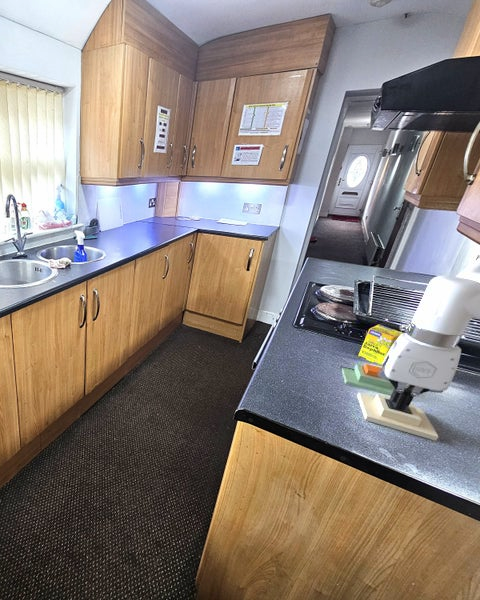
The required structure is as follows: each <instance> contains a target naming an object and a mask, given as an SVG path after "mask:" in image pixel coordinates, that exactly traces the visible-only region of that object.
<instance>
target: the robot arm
mask: <svg viewBox="0 0 480 600" xmlns="http://www.w3.org/2000/svg"><path fill="white" fill-rule="evenodd" d="M473 319H477V320H480V257H478V258H477V259H476V260H474V261H473V262H472V263H471V264H469V265H468V266H466V267H465V268H464V269H462V271H461V272H459V273H458V274H457V275H456V276H454V275H438V276H437V275H436V276H435V277H433V278H432V279H431V280H430V281H429V283H428V284H427V286H426V289H425V291H424V293H423V296H422V298H421V300H420V302H419V304H418V307H417V308H416V310H415V313H414V315H413V317H412V319H411V320H410V321H409V323H407V324H404V323H401V324H400V325H399V330H400V331H403V333H402V334H401V335H400V336H399V337H398V339H397V340H396V341H395V342H394V344H393V345H392V347H391V348H390V350H389V352H388V353H387V355H386V357H385V359H384V361H383V363H382V366H381V368H382V369H381V370H380V371H379V372H378V376H379V377H380V378H381V379H384V380H386V381H389V382H391V384H392V385H393V386H394V390H393V392H392V395H391V396H389V397H390V400H391V401H392V403H393V405H394V407H395V408H400V409H402V410H405V408H406V406H409V405H410V403H412V401H413V399H414V397H418V396H419V395H421V394H425V393H428V392H430V393H437V394H438V393H439V394H442V393H443V392H444V391H446V390H448V389H449V387H450V386H451V384H452V381H453V379H454V377H455V374H456V372H457V369H458V365H459V362H460V359H461V355H462V354H461V353H462V348H461V347H459V346H458V344H459V343H460V340H461V339H462V337H463V335H464V333H465V332H466V329H467V328H468V326H469V324H470V322H471V320H473ZM406 385H407V386H406Z"/></svg>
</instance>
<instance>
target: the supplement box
mask: <svg viewBox="0 0 480 600" xmlns="http://www.w3.org/2000/svg"><path fill="white" fill-rule="evenodd" d="M402 333H404V331H403V332H402V331H398V330H396V329H394V328H390V327H387V326H385V325H382V324H381V323H380V324H377V325H375V326H372V327H370V328H369V329H368V331H367V334H366V335H365V339H364V340H363V342H362V346H361V348H360V350H359V353H358V355H357V356H358V357H359V358H362V359H364V360H366V361H369V362H371V363H373V364H375V365H378V366H380V367H382V363H383V361H384V359H385V357H386V355H387V353H388V352H389V350H390V348H391V347H392V345H393V344H394V342H395V341H396V340H397V339H398V337H399V336H400V335H401V334H402Z"/></svg>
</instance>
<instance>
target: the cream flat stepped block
mask: <svg viewBox="0 0 480 600" xmlns="http://www.w3.org/2000/svg"><path fill="white" fill-rule="evenodd" d="M390 397H391V396H388V395H384V394H381V393H376V395H371V394H367V393H365V392H361V391H359V392H357V400H358V403H359V405H360V408H361V409H360V410H361V411H362V415H363V417H364V418H363V419H364V421H367V422H371V423H373V424H378V425H381V426H383V427H387V428H391V429H394V430H398V431H401V432H405V433H408V434H412V435H415V436H417V437H421V438H425V439H428V440H431V441H434V442H437V441H438V439H439V435H438V433H437V432H436V430H435V428H434V426H433V424H432V423H431V421H430V420H429V418H428V417H427V414H426V413H425V411H424V409H423V408H419V407H416V406H415V405H414V404H413V402H411V403H410V405H409V406H408V408H409V410H410V412H411V414H407V413H404V412H400V411H397V410H393V409H389V407H388V405H387V403H386V399H390Z"/></svg>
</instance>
